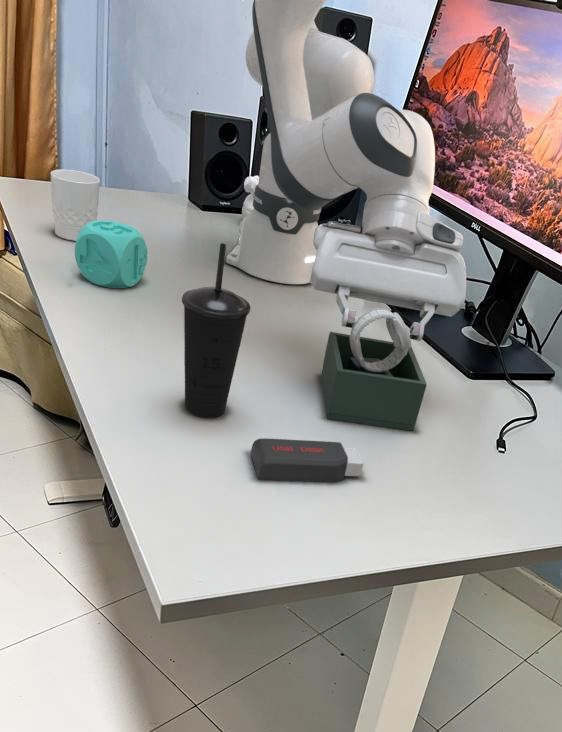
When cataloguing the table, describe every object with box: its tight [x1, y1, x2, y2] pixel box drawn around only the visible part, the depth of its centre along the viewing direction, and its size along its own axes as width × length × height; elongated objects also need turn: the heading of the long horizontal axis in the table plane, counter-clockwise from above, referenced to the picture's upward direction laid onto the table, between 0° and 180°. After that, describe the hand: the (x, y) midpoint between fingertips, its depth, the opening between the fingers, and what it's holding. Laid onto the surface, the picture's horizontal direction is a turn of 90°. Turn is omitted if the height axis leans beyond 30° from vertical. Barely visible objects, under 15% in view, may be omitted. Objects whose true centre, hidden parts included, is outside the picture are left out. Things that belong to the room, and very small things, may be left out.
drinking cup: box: [181, 242, 252, 419], centre depth 88 cm, size 8×8×20 cm
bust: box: [241, 174, 259, 219], centre depth 162 cm, size 12×8×11 cm
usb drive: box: [250, 438, 364, 483], centre depth 86 cm, size 5×12×3 cm, turn 105°
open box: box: [320, 331, 428, 432], centre depth 102 cm, size 13×12×7 cm
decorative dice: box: [74, 220, 148, 289], centre depth 119 cm, size 8×8×8 cm
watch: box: [347, 307, 412, 377], centre depth 100 cm, size 6×8×11 cm
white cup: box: [50, 169, 101, 242], centre depth 133 cm, size 8×8×10 cm
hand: (382, 332), depth 98 cm, fingers closed on watch, 7 cm apart
